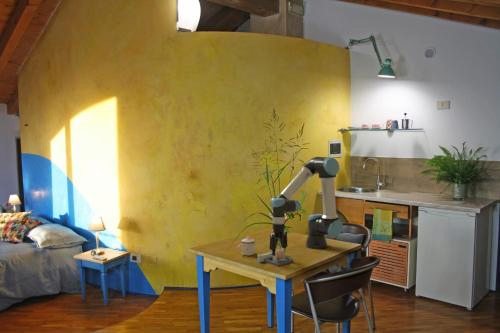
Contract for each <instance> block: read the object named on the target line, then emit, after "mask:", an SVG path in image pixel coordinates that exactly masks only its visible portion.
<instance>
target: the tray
mask: <svg viewBox="0 0 500 333" xmlns="http://www.w3.org/2000/svg"><path fill="white" fill-rule="evenodd" d="M263 262H264V263H266V264H269V265H273V266H276V267H280V266H283V265H286V264H290V263H293V262H294V258H291V257H288V256H285V259H283V258H282V259H281V260H277V261H274V260H273V257H271V258H267V259H264V261H263Z"/></svg>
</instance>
